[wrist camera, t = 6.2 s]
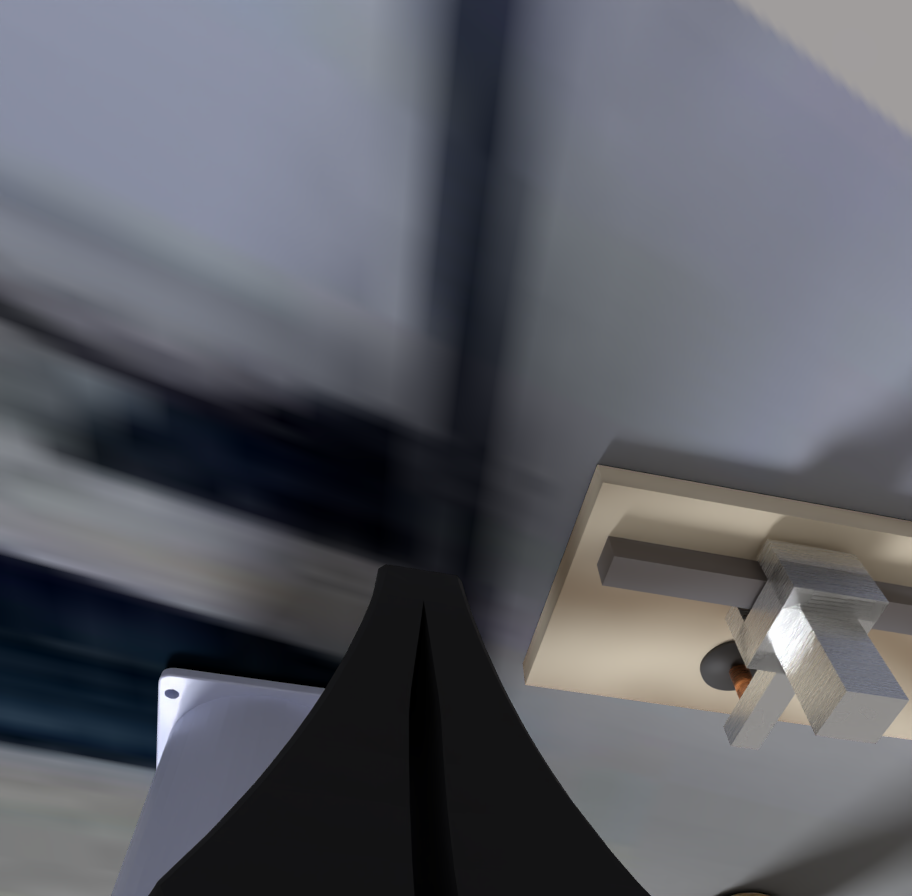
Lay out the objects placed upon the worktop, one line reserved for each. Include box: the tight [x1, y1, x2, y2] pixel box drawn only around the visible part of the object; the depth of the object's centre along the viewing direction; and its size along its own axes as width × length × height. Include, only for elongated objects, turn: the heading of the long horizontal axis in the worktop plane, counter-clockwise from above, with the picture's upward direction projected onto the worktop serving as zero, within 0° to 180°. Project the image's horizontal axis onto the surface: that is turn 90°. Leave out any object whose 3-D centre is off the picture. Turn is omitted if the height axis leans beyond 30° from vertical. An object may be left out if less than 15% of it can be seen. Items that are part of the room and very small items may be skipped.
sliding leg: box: [723, 539, 909, 750], centre depth 24 cm, size 7×3×5 cm, turn 168°
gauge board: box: [523, 464, 912, 740], centre depth 27 cm, size 9×20×2 cm, turn 78°
